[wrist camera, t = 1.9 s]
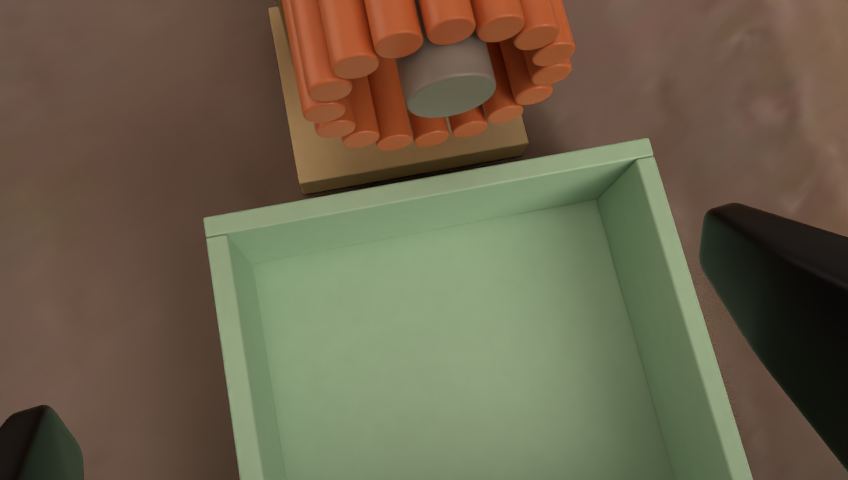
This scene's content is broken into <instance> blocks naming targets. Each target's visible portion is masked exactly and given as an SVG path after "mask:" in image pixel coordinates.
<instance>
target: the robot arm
mask: <svg viewBox="0 0 848 480" xmlns="http://www.w3.org/2000/svg"><path fill="white" fill-rule="evenodd" d="M699 258H700V264H701V267H702V269H703V271H704V273H705V275H706V276H707V278H708V280H709V281H710V283H711V284H712V286H713V288H714V289H715V291H716V292H717V294H718V296H719V297H720V299H721V300H722V302H723V304H724V305H725V307H726V308H727V310H728V312H729V313H730V315H731V316H732V318H733V320H734V321H735V323H736V324H737V326H738V328H739V329H740V331H741V332H742V334H743V336H744V337H745V339H746V340H747V342H748V343H749V345H750V346H751V348H752V349H753V351H754V352H755V354H756V355H757V357H758V358H759V359H760V361H761V362H762V363H763V365H764V366H765V367H766V369H767V370H768V371H769V373H770V374H771V375H772V376H773V378H774V379H775V380H776V381H777V383H778V384H779V385H780V386H781V388H782V389H783V390H784V392H785V393H786V394H787V395H788V397H789V398H790V399H791V400H792V402H793V403H794V404H795V405H796V407H797V408H798V409H799V411H800V412H801V413H802V414H803V416H804V417H805V418H806V419H807V421H808V422H809V423H810V424H811V426H812V427H813V428H814V429H815V431H816V432H817V433H818V435H819V436H820V437H821V438H822V440H823V441H824V442H825V443H826V445H827V446H828V447H829V448H830V450H831V451H832V452H833V454H834V455H835V456H836V457H837V459H838V460H839V461H840V462H841V464H842V465H843V466H844V467H845V469H846V470H847V471H848V237H845V236H842V235H838V234H835V233H832V232H829V231H826V230H823V229H819V228H816V227H813V226H810V225H807V224H803V223H800V222H797V221H794V220H791V219H787V218H784V217H781V216H778V215H775V214H771V213H768V212H765V211H762V210H759V209H756V208H752V207H749V206H746V205H743V204H739V203H729V204H726V205H723V206H719V207H716V208H712V209H710V210H709V211H707V213H706V214H705V216H704V220H703V228H702V237H701V245H700V253H699ZM0 480H84V470H83V457H82V452H81V449H80V447H79V445H78V443H77V441H76V440H75V438H74V437H73V436H72V434H71V433H70V431H69V430H68V429H67V427H66V426H65V424H64V423H63V422H62V420H61V419H60V418H59V416H58V415H57V413H56V412H55V411H54V410H53V409H52V408H51V407H49V406H47V405H40V406H37V407H33V408H30V409H26V410H23V411H20V412H17V413H14V414H12V415H11V416H10V417H9V418H8V419H7V420H6V421H5V422H4V423H3V425H2V426H1V427H0Z"/></svg>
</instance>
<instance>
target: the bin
mask: <svg viewBox="0 0 848 480" xmlns="http://www.w3.org/2000/svg"><path fill="white" fill-rule="evenodd" d="M652 156H653V151H652V148H651V145H650V141H649V139H648V138H643V139H637V140H632V141H626V142H620V143H615V144H609V145H604V146H598V147H593V148H587V149H582V150H576V151H571V152H565V153H559V154H554V155H548V156H543V157H537V158H532V159H526V160H521V161H515V162H510V163H504V164H498V165H493V166H487V167H482V168H476V169H471V170H465V171H460V172H454V173H449V174H443V175H437V176H432V177H426V178H421V179H415V180H410V181H404V182H399V183H393V184H388V185H382V186H376V187H371V188H365V189H360V190H354V191H349V192H343V193H338V194H332V195H327V196H321V197H315V198H310V199H304V200H299V201H293V202H288V203H282V204H277V205H271V206H266V207H260V208H254V209H249V210H243V211H238V212H232V213H227V214H221V215H216V216H210V217H205V218H204V220H203V221H204V228H205V235H206V237H207V239H206V243H207V250H208V257H209V264H210V271H211V278H212V285H213V292H214V299H215V306H216V313H217V321H218V328H219V335H220V342H221V349H222V356H223V363H224V370H225V377H226V384H227V391H228V399H229V406H230V413H231V420H232V427H233V434H234V441H235V448H236V455H237V462H238V469H239V477H240V480H753V478H752V475H751V471H750V468H749V465H748V462H747V458H746V455H745V452H744V449H743V445H742V442H741V439H740V436H739V432H738V429H737V426H736V422H735V419H734V416H733V413H732V409H731V406H730V403H729V400H728V396H727V393H726V390H725V387H724V383H723V380H722V377H721V373H720V370H719V367H718V364H717V360H716V357H715V354H714V351H713V347H712V344H711V341H710V338H709V334H708V331H707V328H706V325H705V321H704V318H703V315H702V311H701V308H700V305H699V302H698V298H697V295H696V292H695V289H694V285H693V282H692V279H691V276H690V272H689V269H688V266H687V262H686V259H685V256H684V253H683V249H682V246H681V243H680V240H679V236H678V233H677V230H676V227H675V223H674V220H673V217H672V214H671V210H670V207H669V204H668V200H667V197H666V194H665V191H664V187H663V184H662V181H661V178H660V174H659V171H658V168H657V165H656V161H655V158H654V157H652Z"/></svg>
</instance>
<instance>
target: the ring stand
mask: <svg viewBox="0 0 848 480" xmlns="http://www.w3.org/2000/svg"><path fill="white" fill-rule="evenodd" d="M414 1H415V5H416V9H417V13H418V18H419V22H420V26H421V31H422V35H423V44H422V46H421V47H420V48H419V49H418V50H417V51H416V52H414V53H412V54H410V55H408V56H404V57H400V58H396V59H395V62H396V61H397V63H396V66H398V68H397V71H399V72H398V75H400V77H399V80H401V82H400V84H402V86H401V89H403V91H402V93H404V95H403V98H405V100H404V103H405V102H406V104H405V107H406V106H407V108H408V109H409V111H410V112H411V113H413V114H415V115H417V116H420V117H427V118H439V117H446V121H447V126H448V130H449V138H448V139H447V140H446V141H444V142H442V143H440V144H438V145H434V146H429V147H420V146H417V145H416V144H415V143H414V140H413V136H412V142H411V143H410V144H409V145H407V146H405V147H403V148H400V149H397V150H390V151H384V150H380V149H378V148H377V147H376V143H373V144H371V145H368V146H365V147H359V148H350V147H346V146H344V144H343V143H342V140H341V137H339V138H322V137H320V136H318V134H317V133H316V130H315V124H314V122H310V121H307V120H306V119H305V118H304V117H303V114H302V108H301V103H300V97H299V92H298V86H297V81H296V75H295V70H294V64H293V59H292V53H291V48H290V42H289V37H288V32H287V26H286V21H285V15H284V10H283V4H282V0H277V4H278V7H271V8H269V9H268V11H269V16H270V22H271V28H272V33H273V39H274V45H275V50H276V56H277V62H278V67H279V73H280V79H281V84H282V90H283V95H284V101H285V107H286V112H287V118H288V124H289V129H290V135H291V141H292V146H293V152H294V158H295V163H296V169H297V175H298V180H299V184H300V187H301V190H302V193H303V194H310V193H315V192H321V191H326V190H332V189H338V188H343V187H349V186H354V185H360V184H365V183H371V182H376V181H382V180H388V179H393V178H399V177H404V176H410V175H415V174H421V173H427V172H432V171H438V170H443V169H449V168H454V167H460V166H466V165H471V164H477V163H482V162H488V161H493V160H499V159H505V158H510V157H516V156H521V155H523V153H524V151H525V149H526V147H527V145H528V143H529V141H528V138H527V134H526V130H525V126H524V122H523V119H522V115H520V116H519V117H517V118H516V119H513V120H511V121H508V122H504V123H490V122H489V121H488V120H487V123H488V126H487V128H486V129H485V130H484V131H483V132H481V133H479V134H477V135H474V136H470V137H463V138H461V137H455V136H454V135H453V134H452V131H451V126H450V122H449V118H448V116H452V115H456V114H460V113H463V112H466V111H469V110H471V109H474V108H476V107H478V106H479V105H481V104H483V103H484V102H486V101H487V100H488V99H489V98H490V97H491V96H492V95H493V94H494V92H495V89H496V80H495V76H494V72H493V68H492V64H491V60H490V56H489V52H488V48H487V45H486V42H485V41H482V40H480V39H479V37H478V36H477V34H476V30H474V32H473V33H472V34H471V35H470V36H469V37H467V38H466V39H464V40H462V41H460V42H457V43H454V44H449V45H437V44H434V43H432V42H430V41H429V39H428V38H427V36H426V31H425V27H424V23H423V18H422V14H421V10H420V6H419V1H418V0H414ZM483 107H484V106H483ZM484 111H485V110H484ZM406 112H407V109H406ZM485 115H486V114H485ZM407 116H408V113H407ZM486 119H487V118H486ZM408 121H409V118H408ZM409 125H410V122H409ZM410 130H411V127H410ZM411 134H412V131H411Z"/></svg>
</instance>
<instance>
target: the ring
mask: <svg viewBox="0 0 848 480" xmlns="http://www.w3.org/2000/svg"><path fill="white" fill-rule="evenodd" d="M418 1H419V6H420V10H421V14H422V18H423V23H424V27H425V31H426V36H427V38H428V39H429V41H430V42H432V43H434V44H437V45H449V44H454V43H457V42H460V41H462V40H464V39H466V38H467V37H469V36H470V35H471V34H472V33H473V32H474V30H476V34H477V36H478V37H479V39H480V40H482V41H485V42H486V45H487V48H488V52H489V56H490V60H491V64H492V68H493V72H494V76H495V80H496V89H495V92H494V94H493V95H492V96H491V97H490V98H489V99H488V100H487V101H486V102H484V103H483V104H481V105H479V106H478V107H476V108H474V109H471V110H469V111H466V112H463V113H460V114H456V115H452V116H448V118H449V122H450V126H451V131H452V134H453V135H454V136H455V137H461V138H463V137H470V136H474V135H477V134H479V133H481V132H483V131H484V130H485V129H486V128H487V126H488V123H487V120H488V121H489V122H490V123H504V122H508V121H511V120H513V119H516V118H517V117H519V116H520V115H521V114H522V113H523V110H524V109H523V105H530V104H535V103H538V102H540V101H543V100H545V99H546V98H548V97H549V96H550V95H551V94H552V90H553V88H552V83H555V82H558V81H560V80H562V79H564V78H565V77H567V76H568V75H569V74H570V72H571V68H572V67H571V63H570V59H569V57H570V56H571V55H572V54H573V53H574V51H575V43H574V40H573V36H572V33H571V29H570V26H569V23H568V19H567V16H566V12H565V9H564V5H563V2H562V0H418ZM282 4H283V10H284V15H285V21H286V26H287V32H288V37H289V42H290V48H291V53H292V59H293V64H294V70H295V75H296V81H297V86H298V92H299V97H300V103H301V108H302V114H303V117H304V118H305V119H306V120H307V121H310V122H314V124H315V130H316V133H317V134H318V136H320V137H322V138H339V137H341V140H342V143H343V144H344V146H346V147H350V148H359V147H365V146H368V145H371V144H373V143H376V147H377V148H378V149H380V150H384V151H390V150H397V149H400V148H403V147H405V146H407V145H409V144H410V143H411V142H412V136H413V140H414V143H415V144H416V145H417V146H420V147H429V146H434V145H438V144H440V143H442V142H444V141H446V140H447V139H448V138H449V130H448V126H447V121H446V117H439V118H427V117H420V116H417V115H415V114H413V113H411V112H410V111H409V109H408V108H407V106H406V107H405V104H406V102H405V103H404V100H405V98H403V95H404V93H402V91H403V89H401V86H402V84H400V82H401V80H399V77H400V75H398V72H399V71H397V68H398V66H396V63H397V61H396V62H395V59H396V58H400V57H404V56H408V55H410V54H412V53H414V52H416V51H417V50H418V49H419V48H420V47H421V46H422V44H423V35H422V31H421V26H420V22H419V18H418V13H417V9H416V5H415V1H414V0H282ZM483 106H484V107H483ZM406 109H407V112H406ZM484 110H485V111H484ZM407 113H408V116H407ZM485 114H486V115H485ZM408 118H409V121H408ZM486 118H487V119H486ZM409 122H410V125H409ZM410 127H411V130H410ZM411 131H412V134H411Z"/></svg>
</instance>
